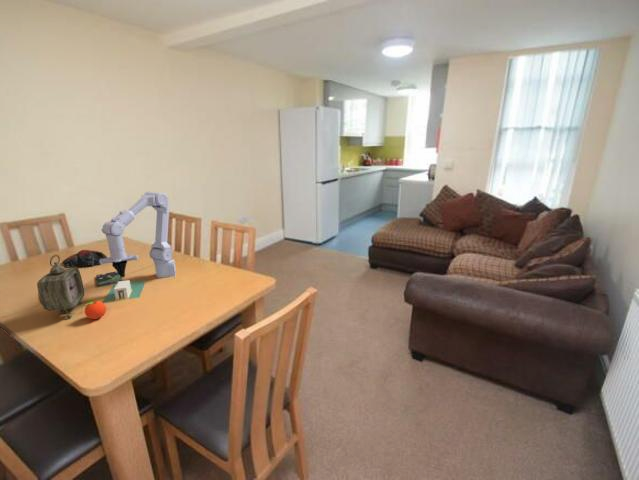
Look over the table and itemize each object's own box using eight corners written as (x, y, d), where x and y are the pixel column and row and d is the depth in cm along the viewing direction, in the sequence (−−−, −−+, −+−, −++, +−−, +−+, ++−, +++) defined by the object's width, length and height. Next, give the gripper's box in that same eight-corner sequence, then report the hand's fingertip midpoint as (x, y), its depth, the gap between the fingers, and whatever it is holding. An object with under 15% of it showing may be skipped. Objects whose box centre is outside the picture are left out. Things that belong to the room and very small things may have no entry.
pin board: (146, 282, 156) (144, 274, 155) (139, 299, 139) (138, 291, 138) (113, 286, 152) (112, 279, 150) (103, 304, 135) (101, 296, 133)
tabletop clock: (72, 319, 123) (57, 260, 115) (45, 323, 120) (27, 263, 113) (87, 302, 136) (74, 248, 129) (63, 305, 134) (48, 250, 126)
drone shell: (112, 262, 183) (109, 249, 181) (72, 272, 168) (68, 259, 166) (98, 254, 195) (95, 242, 193) (60, 264, 181) (56, 251, 178)
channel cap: (131, 289, 146) (129, 280, 144) (127, 297, 138) (125, 287, 137) (120, 291, 144) (118, 281, 143) (116, 299, 137) (113, 289, 135)
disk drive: (96, 280, 160) (98, 290, 149) (95, 275, 160) (97, 284, 148) (120, 275, 166) (123, 284, 155) (119, 270, 165) (122, 279, 154)
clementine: (81, 324, 120) (77, 308, 118) (85, 315, 126) (81, 300, 124) (105, 320, 123) (102, 304, 121) (109, 311, 129) (105, 296, 127)
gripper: (95, 253, 131) (101, 282, 135) (134, 249, 136) (139, 277, 140) (99, 248, 137) (105, 276, 142) (136, 244, 142) (141, 271, 147)
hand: (122, 276), depth 141 cm, fingers closed
